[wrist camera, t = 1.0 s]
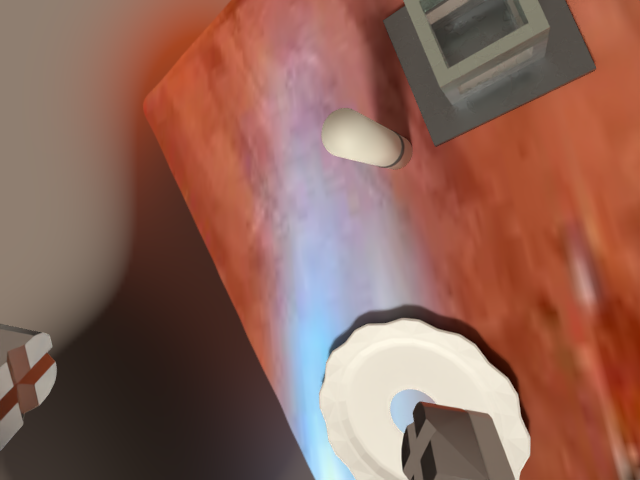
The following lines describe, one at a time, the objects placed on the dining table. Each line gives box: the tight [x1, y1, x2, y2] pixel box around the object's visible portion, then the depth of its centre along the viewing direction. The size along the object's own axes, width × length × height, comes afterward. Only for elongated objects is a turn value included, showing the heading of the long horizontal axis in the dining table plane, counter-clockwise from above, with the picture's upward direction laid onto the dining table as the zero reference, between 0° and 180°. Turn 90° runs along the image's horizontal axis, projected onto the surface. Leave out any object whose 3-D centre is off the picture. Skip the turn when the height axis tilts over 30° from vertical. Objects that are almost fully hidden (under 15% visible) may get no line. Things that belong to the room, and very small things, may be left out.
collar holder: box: [383, 0, 596, 147], centre depth 38 cm, size 16×16×8 cm
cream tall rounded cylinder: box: [322, 108, 412, 170], centre depth 40 cm, size 4×4×16 cm
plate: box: [319, 318, 530, 480], centre depth 48 cm, size 25×25×2 cm
